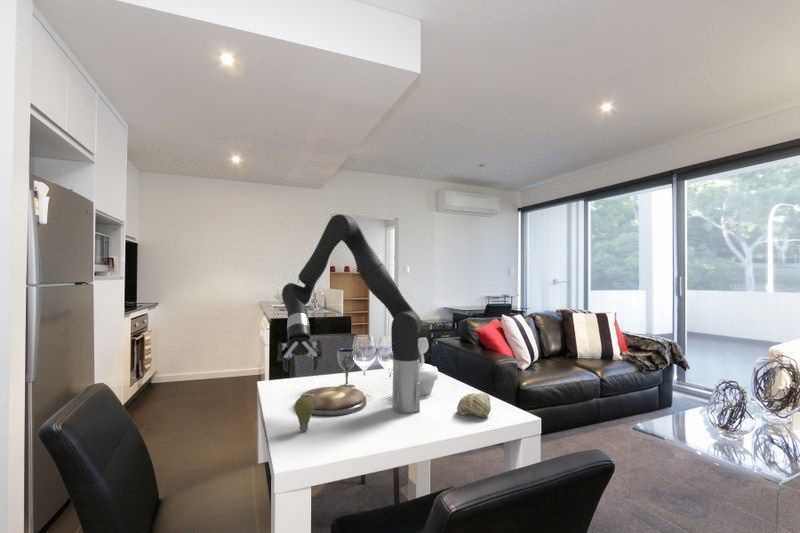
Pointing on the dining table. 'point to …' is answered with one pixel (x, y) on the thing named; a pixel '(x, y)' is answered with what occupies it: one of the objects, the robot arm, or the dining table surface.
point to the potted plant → (426, 369)
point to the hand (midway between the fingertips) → (301, 369)
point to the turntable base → (340, 412)
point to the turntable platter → (334, 397)
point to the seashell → (474, 405)
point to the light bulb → (304, 411)
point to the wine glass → (346, 363)
